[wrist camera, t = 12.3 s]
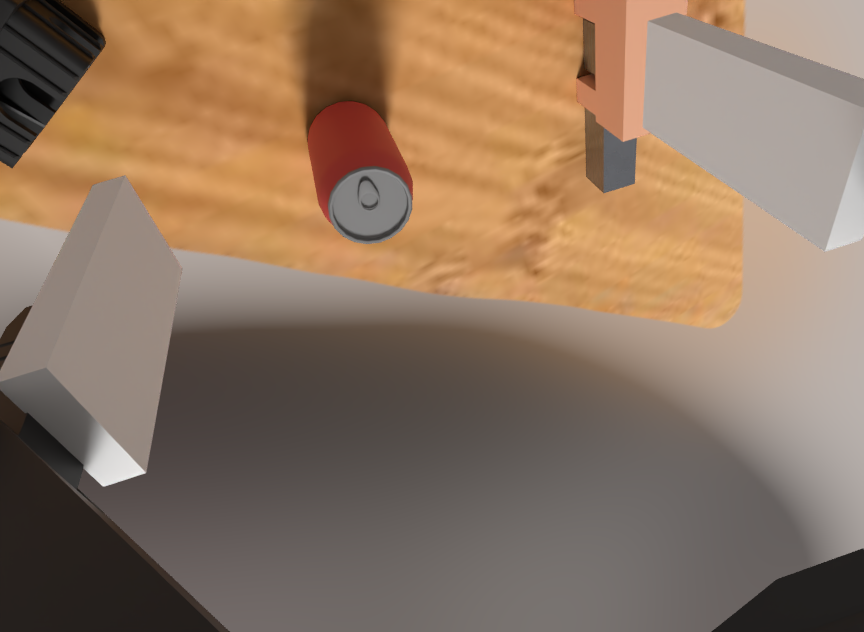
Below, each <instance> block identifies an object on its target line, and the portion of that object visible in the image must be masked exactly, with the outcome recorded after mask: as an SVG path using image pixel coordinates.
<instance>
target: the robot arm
mask: <svg viewBox="0 0 864 632" xmlns="http://www.w3.org/2000/svg"><path fill="white" fill-rule="evenodd" d="M643 128H644V129H646V130H647V131H649V132H650V133H652V134H653V135H655V136H656V137H657V138H659V139H660V140H662V141H663V142H665V143H666V144H668V145H669V146H671V147H672V148H674V149H675V150H676V151H678V152H679V153H681V154H682V155H684V156H685V157H687V158H688V159H690V160H691V161H693V162H694V163H696V164H697V165H698V166H700V167H701V168H703V169H704V170H706V171H707V172H709V173H710V174H712V175H713V176H715V177H716V178H718V179H719V180H720V181H722V182H723V183H725V184H726V185H728V186H729V187H731V188H732V189H734V190H735V191H737V192H738V193H740V194H741V195H742V196H744V197H745V198H747V199H748V200H750V201H752V202H753V203H754V204H756V205H757V206H759V207H760V208H762V209H763V210H765V211H766V212H768V213H769V214H770V215H772V216H773V217H775V218H776V219H778V220H779V221H781V222H782V223H784V224H785V225H787V226H788V227H789V228H791V229H792V230H794V231H795V232H797V233H798V234H800V235H801V236H803V237H804V238H806V239H807V240H808V241H810V242H811V243H813V244H814V245H816V246H817V247H819V248H820V249H822V250H823V251H828V250H832V249H835V248H838V247H841V246H844V245H847V244H850V243H853V242H856V241H859V240H862V238H863V235H864V79H862V78H860V77H857V76H854V75H851V74H848V73H846V72H842V71H840V70H837V69H834V68H831V67H828V66H826V65H823V64H820V63H817V62H814V61H812V60H809V59H806V58H803V57H800V56H798V55H794V54H791V53H789V52H786V51H783V50H780V49H778V48H775V47H772V46H769V45H767V44H764V43H761V42H758V41H755V40H752V39H750V38H747V37H744V36H741V35H738V34H736V33H733V32H730V31H727V30H724V29H721V28H719V27H716V26H713V25H710V24H707V23H705V22H702V21H699V20H696V19H693V18H690V17H688V16H685V15H682V14H679V13H673V14H670V15H666V16H663V17H660V18H656V19H653V20H649V21H648V24H647V45H646V66H645V87H644V108H643ZM181 274H182V267H181V265H180V264H179V262H178V260H177V259H176V257H175V256H174V254H173V252H172V251H171V249H170V247H169V246H168V244H167V242H166V241H165V239H164V238H163V236H162V234H161V233H160V231H159V229H158V228H157V226H156V225H155V223H154V221H153V220H152V218H151V216H150V215H149V213H148V211H147V210H146V208H145V207H144V205H143V203H142V202H141V200H140V198H139V197H138V195H137V194H136V192H135V190H134V189H133V187H132V185H131V184H130V182H129V180H128V179H127V177H126V176H122V177H118V178H115V179H111V180H108V181H105V182H101V183H98V184H94V185H93V186H92V188H91V190H90V192H89V194H88V196H87V198H86V200H85V202H84V204H83V206H82V208H81V210H80V212H79V214H78V216H77V218H76V220H75V222H74V224H73V226H72V228H71V230H70V232H69V234H68V236H67V238H66V240H65V242H64V244H63V246H62V248H61V250H60V252H59V254H58V256H57V258H56V260H55V262H54V264H53V266H52V268H51V270H50V272H49V274H48V276H47V278H46V280H45V282H44V285H43V286H42V288H41V290H40V292H39V294H38V296H37V298H36V300H35V302H34V304H33V306H29V307H26V308H25V309H24V310H23V311H22V312H21V313H20V314H19V315H18V316H17V317H16V318H15V319H14V320H13V321H12V322H11V323H10V324H9V325H8V326H7V327H6V329H5V331H4V333H3V335H2V337H1V338H0V632H230V631H228V629H226V628H225V627H224V626H223V625H222V624H221V623H220V622H219V621H218V620H217V619H216V618H215V617H214V616H213V615H212V614H211V613H209V612H208V611H207V610H206V609H205V608H204V607H203V606H202V605H201V604H200V603H199V602H198V601H197V600H196V599H195V598H194V597H193V596H192V595H191V594H189V593H188V592H187V591H186V590H185V589H184V588H183V587H182V586H181V585H180V584H179V583H178V582H177V581H176V580H175V579H174V578H173V577H172V576H170V575H169V574H168V573H167V572H166V571H165V570H164V569H163V568H162V567H161V566H160V565H159V564H158V563H157V562H156V561H155V560H154V559H152V558H151V557H150V556H149V555H148V554H147V553H146V552H145V551H144V550H143V549H142V548H141V547H140V546H139V545H138V544H137V543H136V542H135V541H134V540H132V539H131V538H130V537H129V536H128V535H127V534H126V533H125V532H124V531H123V530H122V529H121V528H120V527H119V526H118V525H117V524H116V523H115V522H113V521H112V520H111V519H110V518H109V517H108V516H107V515H106V514H105V513H104V512H103V511H102V510H101V509H100V508H99V507H98V506H97V505H95V504H94V503H93V502H92V501H91V500H90V499H89V498H88V497H87V496H86V495H85V494H84V493H82V492H81V491H80V490H79V489H78V485H79V481H80V478H81V474H82V470H83V468H84V469H85V470H86V471H87V472H88V473H89V474H90V475H91V476H92V477H93V478H95V479H96V480H97V481H98V482H99V483H100V484H101V485H102V486H107V485H110V484H113V483H116V482H119V481H122V480H126V479H129V478H132V477H135V476H138V475H141V474H144V473H146V470H147V464H148V458H149V453H150V447H151V442H152V436H153V431H154V425H155V419H156V413H157V408H158V403H159V397H160V391H161V386H162V380H163V375H164V369H165V363H166V358H167V352H168V346H169V340H170V335H171V330H172V324H173V318H174V313H175V307H176V301H177V296H178V289H179V284H180V279H181ZM712 632H864V549H860V550H857V551H855V552H852V553H849V554H846V555H843V556H841V557H838V558H836V559H832V560H829V561H827V562H824V563H821V564H818V565H816V566H813V567H810V568H807V569H804V570H802V571H799V572H796V573H794V574H791V575H788V576H785V577H782V578H779V579H777V580H775V581H774V582H773V583H772V584H770V585H769V586H768V587H767V588H766V589H764V590H763V591H762V592H760V593H759V594H758V595H757V596H756V597H754V598H753V599H752V600H751V601H749V602H748V603H747V604H746V605H744V606H743V607H742V608H741V609H739V610H738V611H737V612H736V613H734V614H733V615H732V616H731V617H729V618H728V619H727V620H726V621H724V622H723V623H722V624H721V625H720V626H718V627H717V628H716V629H714V630H713V631H712Z"/></svg>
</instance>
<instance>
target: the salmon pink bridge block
mask: <svg viewBox="0 0 864 632" xmlns="http://www.w3.org/2000/svg"><path fill="white" fill-rule="evenodd" d="M687 3H688V0H574V9H575V14H576V15H578V16H580V17H582V18H584V19H586V20H589V21H591V22H593V23H595V75H594V74H590V75H586V76H583V77H580V78H577V102H578V103H580V104H581V105H582V106H584V107H585V108H586V109H588V110H589V111H590V112H592V113H593V114H594V115H596V122H597V123H599V124H600V125H601V126H603V127H604V128H605V129H607V130H608V131H609V132H610V133H612V134H613V135H614V136H616V137H617V138H618V139H620V140H621V141H622V142H624V141H628V140H631V139H634V138H637V137H641V136H644V135H647V134H650V132H649V131H647V130H646V129H644V128H643V108H644V87H645V66H646V45H647V24H648V21H649V20H653V19H656V18H660V17H663V16H666V15H670V14H673V13H679V14H682V15H685V16H686V14H687Z"/></svg>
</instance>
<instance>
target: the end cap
mask: <svg viewBox="0 0 864 632" xmlns="http://www.w3.org/2000/svg"><path fill="white" fill-rule="evenodd" d="M105 44H106V42H105V38H104V37H103V36H102V35H101V33H99V32H98V31H97V30H96V29H94V28H93V27H92V26H90V25H89V24H88V23H87V22H85V21H84V20H83V19H82V18H80V17H79V16H78V15H77V14H75V13H74V12H73V11H71V10H70V9H69V8H68V7H66V6H65V5H64V4H63V3H61V2H60V1H59V0H0V161H1V162H2V163H4V164H6V165H8V166H9V167H11V168H13V167H14V166H15V164H16V163H17V162H18V161H19V159H20V158H21V157H22V155H23V153H24V152H26V151H27V149H28V148H29V147H30V145H31V144H32V143H33V142H34V140H35V139H36V138H37V136H38V135H39V134H40V133H41V131H42V130H43V129H44V127H45V126H46V125H47V123H48V122H49V121H50V119H51V118H52V117H53V115H54V114H55V113H56V111H57V110H58V109H59V107H60V106H61V105H62V103H63V102H64V101H65V99H66V98H67V96H68V95H69V94H70V92H71V91H72V90H73V88H74V87H75V86H76V84H77V83H78V82H79V80H80V79H81V78H82V76H83V75H84V74H85V72H86V71H87V70H88V68H89V67H90V66H91V64H92V63H93V62H94V60H95V59H96V58H97V56H98V55H99V54H100V52H101V51H102V50H103V48H104V47H105Z"/></svg>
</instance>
